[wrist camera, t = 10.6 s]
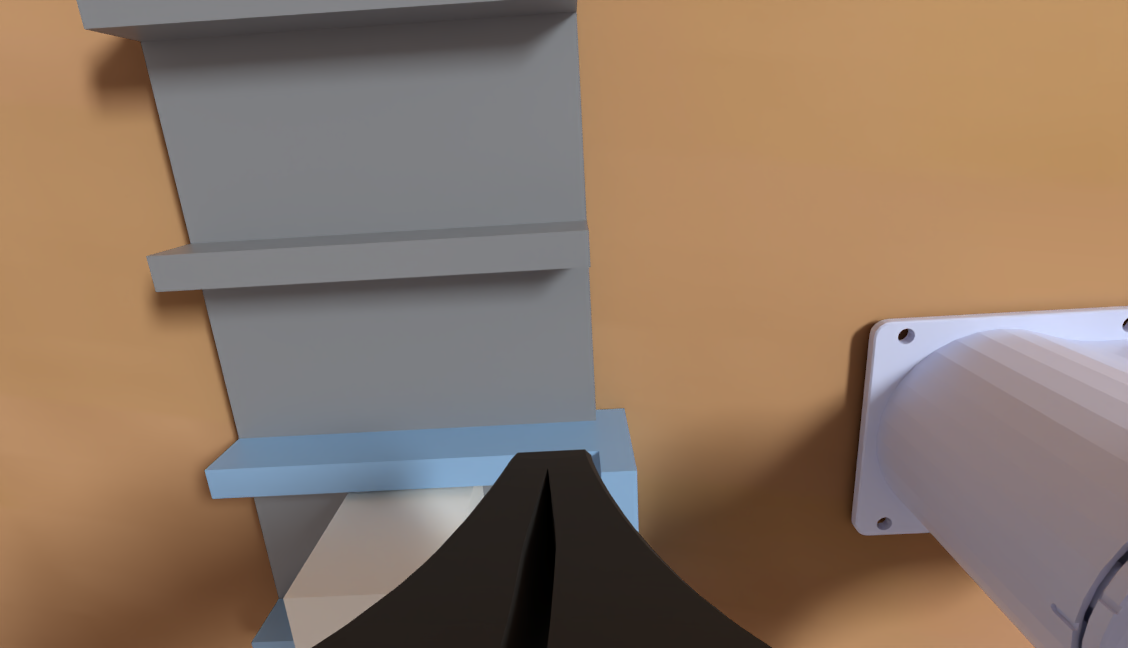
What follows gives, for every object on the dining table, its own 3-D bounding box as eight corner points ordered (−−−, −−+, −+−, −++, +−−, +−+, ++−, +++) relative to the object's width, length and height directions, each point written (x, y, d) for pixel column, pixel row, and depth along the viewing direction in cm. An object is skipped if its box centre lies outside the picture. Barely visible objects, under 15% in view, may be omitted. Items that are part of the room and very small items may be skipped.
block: (480, 462, 20) (444, 591, 15) (491, 561, 21) (463, 715, 16) (363, 468, 20) (283, 598, 15) (380, 566, 22) (313, 721, 16)
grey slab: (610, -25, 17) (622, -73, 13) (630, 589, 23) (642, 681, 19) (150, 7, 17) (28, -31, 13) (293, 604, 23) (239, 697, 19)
